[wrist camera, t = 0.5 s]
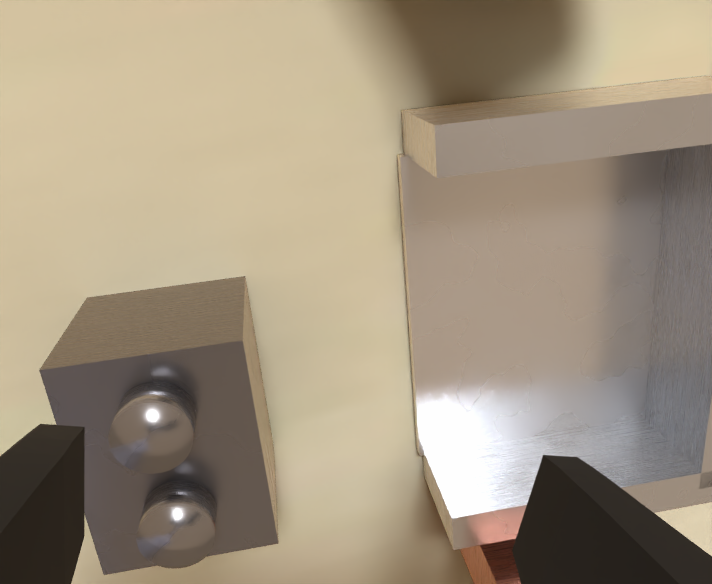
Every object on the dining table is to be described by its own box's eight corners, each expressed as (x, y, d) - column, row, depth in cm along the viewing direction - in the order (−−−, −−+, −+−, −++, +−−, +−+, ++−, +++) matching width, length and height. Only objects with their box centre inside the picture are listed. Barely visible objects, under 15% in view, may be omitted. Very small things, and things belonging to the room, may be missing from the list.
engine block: (134, 467, 21) (95, 606, 15) (88, 296, 18) (24, 392, 13) (273, 444, 21) (280, 571, 16) (245, 275, 19) (242, 359, 14)
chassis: (436, 738, 27) (480, 907, 22) (394, 110, 18) (455, 140, 12) (637, 695, 28) (726, 846, 23) (704, 75, 18) (887, 89, 13)
